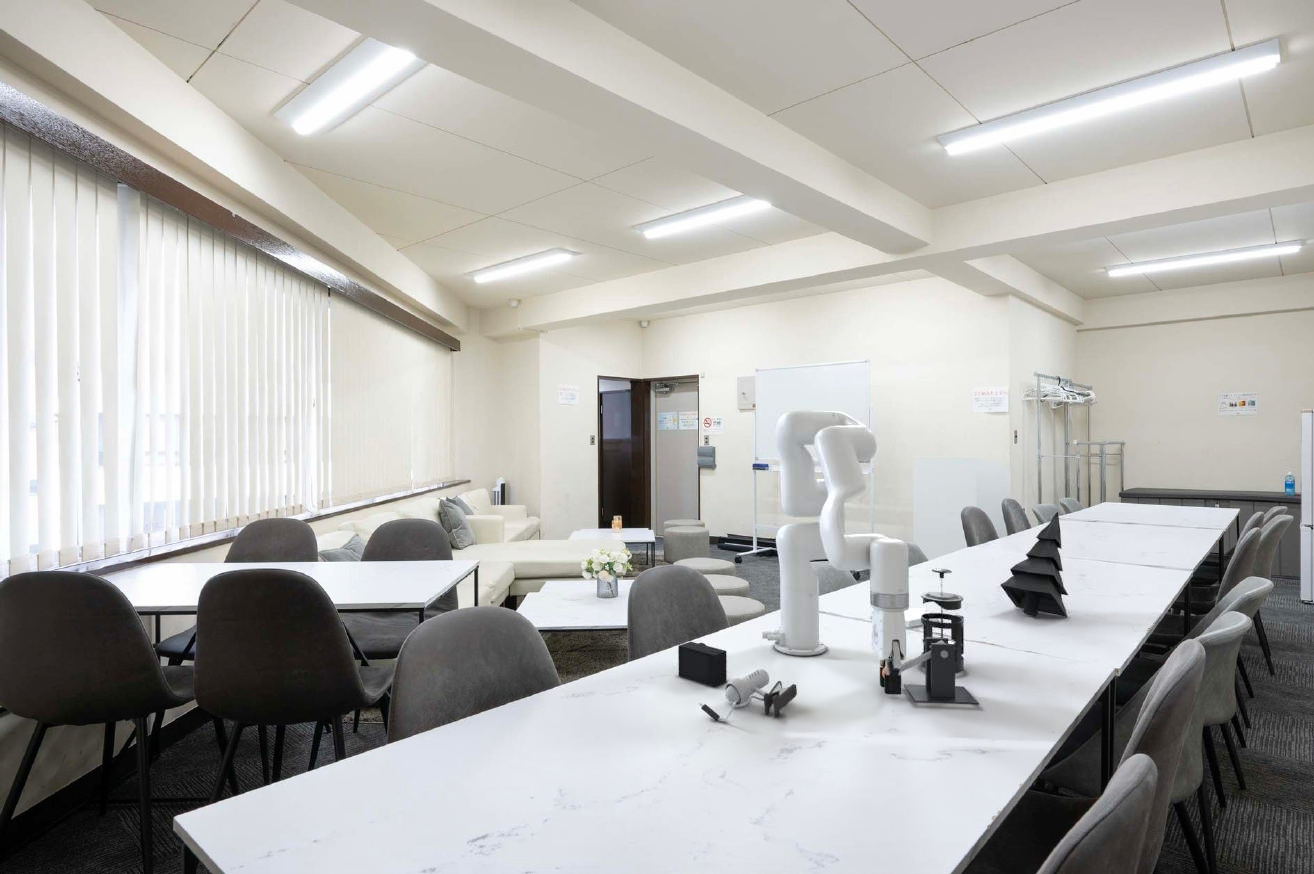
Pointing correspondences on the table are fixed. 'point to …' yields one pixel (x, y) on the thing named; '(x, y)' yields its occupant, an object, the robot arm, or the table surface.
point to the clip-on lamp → (752, 683)
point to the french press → (957, 621)
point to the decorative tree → (1039, 576)
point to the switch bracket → (940, 676)
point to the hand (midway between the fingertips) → (890, 689)
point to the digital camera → (702, 663)
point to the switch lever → (914, 661)
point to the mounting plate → (914, 617)
